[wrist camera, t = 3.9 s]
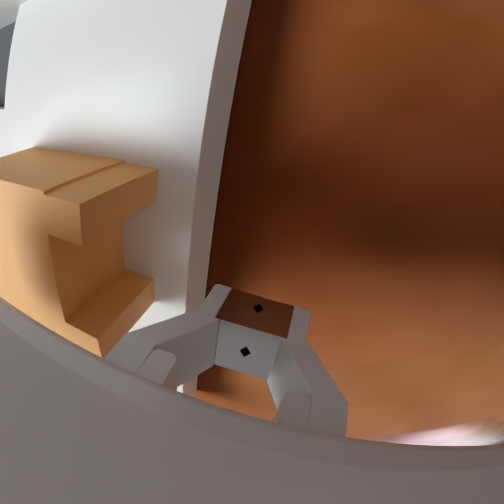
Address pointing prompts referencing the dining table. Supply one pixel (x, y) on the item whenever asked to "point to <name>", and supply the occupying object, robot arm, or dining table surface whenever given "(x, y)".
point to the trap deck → (133, 115)
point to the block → (73, 243)
